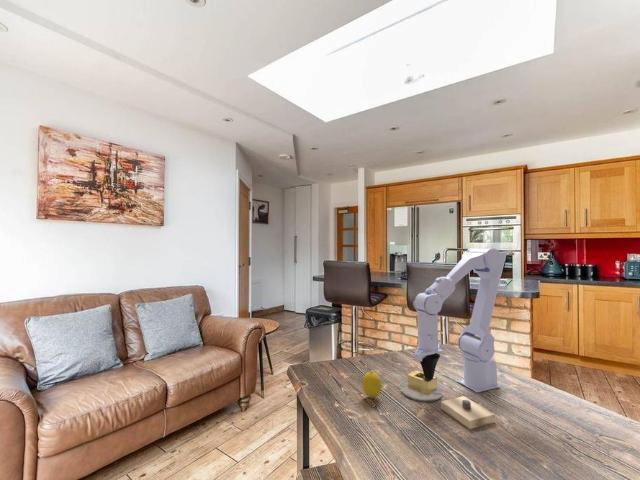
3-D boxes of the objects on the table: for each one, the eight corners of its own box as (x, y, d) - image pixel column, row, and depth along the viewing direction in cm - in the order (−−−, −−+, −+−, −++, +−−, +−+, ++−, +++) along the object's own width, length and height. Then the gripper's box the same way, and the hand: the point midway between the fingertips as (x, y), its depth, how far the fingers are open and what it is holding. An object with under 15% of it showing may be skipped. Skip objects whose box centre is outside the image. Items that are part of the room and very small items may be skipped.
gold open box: (416, 382, 98) (416, 370, 98) (436, 390, 92) (436, 377, 92) (407, 387, 94) (407, 374, 94) (428, 395, 89) (427, 382, 89)
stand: (463, 403, 86) (463, 390, 87) (494, 422, 77) (494, 408, 77) (441, 408, 84) (440, 395, 84) (469, 429, 74) (469, 414, 74)
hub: (424, 380, 101) (424, 368, 101) (450, 397, 90) (450, 383, 90) (393, 386, 97) (393, 374, 97) (417, 404, 86) (416, 390, 86)
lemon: (381, 403, 87) (380, 375, 87) (362, 402, 88) (361, 374, 88) (381, 394, 92) (380, 368, 93) (363, 393, 94) (362, 366, 94)
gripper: (430, 341, 84) (431, 390, 84) (450, 330, 95) (451, 374, 95) (407, 336, 89) (408, 383, 89) (428, 326, 100) (429, 368, 99)
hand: (428, 378), depth 92 cm, fingers closed, pressing on gold open box
